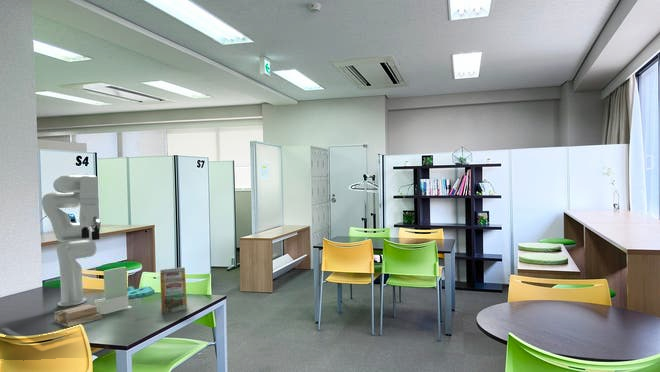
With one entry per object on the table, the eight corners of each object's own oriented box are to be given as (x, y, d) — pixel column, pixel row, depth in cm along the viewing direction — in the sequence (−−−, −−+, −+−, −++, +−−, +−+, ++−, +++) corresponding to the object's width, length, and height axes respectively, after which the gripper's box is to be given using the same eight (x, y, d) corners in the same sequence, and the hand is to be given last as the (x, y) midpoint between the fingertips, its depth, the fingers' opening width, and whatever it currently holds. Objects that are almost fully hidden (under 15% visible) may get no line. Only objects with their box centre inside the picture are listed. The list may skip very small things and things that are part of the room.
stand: (94, 314, 196) (94, 300, 196) (122, 307, 206) (122, 293, 206) (104, 317, 191) (103, 302, 191) (132, 309, 201) (131, 296, 201)
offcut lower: (63, 323, 180) (62, 317, 180) (90, 316, 189) (90, 310, 189) (69, 325, 176) (68, 319, 176) (97, 318, 185) (96, 312, 185)
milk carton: (186, 305, 205) (184, 265, 205) (186, 311, 195) (185, 269, 195) (162, 308, 202) (160, 267, 202) (161, 314, 192) (160, 271, 192)
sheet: (105, 309, 198) (103, 270, 198) (126, 304, 206) (125, 266, 206) (106, 310, 197) (104, 270, 197) (128, 304, 205) (126, 266, 205)
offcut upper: (62, 317, 180) (62, 311, 180) (90, 310, 189) (90, 304, 189) (68, 319, 176) (68, 313, 176) (96, 312, 185) (96, 306, 185)
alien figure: (104, 300, 224) (138, 300, 220) (104, 295, 224) (138, 296, 220) (129, 290, 244) (161, 290, 240) (129, 286, 244) (161, 286, 240)
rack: (54, 325, 183) (54, 312, 183) (87, 316, 193) (86, 304, 193) (68, 330, 174) (68, 317, 174) (102, 321, 184) (101, 308, 184)
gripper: (72, 202, 202) (73, 238, 203) (90, 203, 192) (91, 241, 193) (88, 201, 208) (89, 236, 209) (107, 202, 198) (108, 239, 199)
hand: (90, 238), depth 201 cm, fingers open, 9 cm apart
